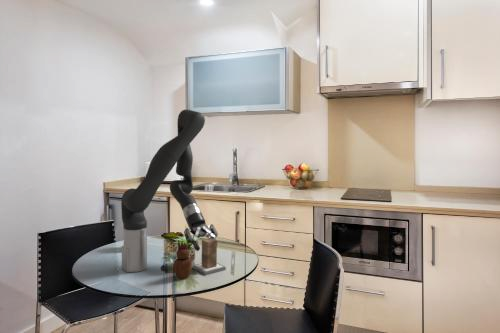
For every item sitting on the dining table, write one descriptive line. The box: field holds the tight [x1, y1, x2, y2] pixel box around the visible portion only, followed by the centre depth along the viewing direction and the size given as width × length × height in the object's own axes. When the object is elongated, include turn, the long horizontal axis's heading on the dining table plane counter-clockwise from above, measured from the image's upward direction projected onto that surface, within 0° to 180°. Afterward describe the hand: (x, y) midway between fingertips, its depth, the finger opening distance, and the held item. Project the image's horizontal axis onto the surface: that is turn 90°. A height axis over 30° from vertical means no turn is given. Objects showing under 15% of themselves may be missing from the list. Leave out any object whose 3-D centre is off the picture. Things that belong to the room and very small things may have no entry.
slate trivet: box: [192, 262, 227, 276], centre depth 145 cm, size 10×10×1 cm
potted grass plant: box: [173, 239, 193, 279], centre depth 136 cm, size 7×6×15 cm
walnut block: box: [201, 238, 218, 269], centre depth 145 cm, size 4×4×11 cm
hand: (207, 248), depth 145 cm, fingers open, 8 cm apart
